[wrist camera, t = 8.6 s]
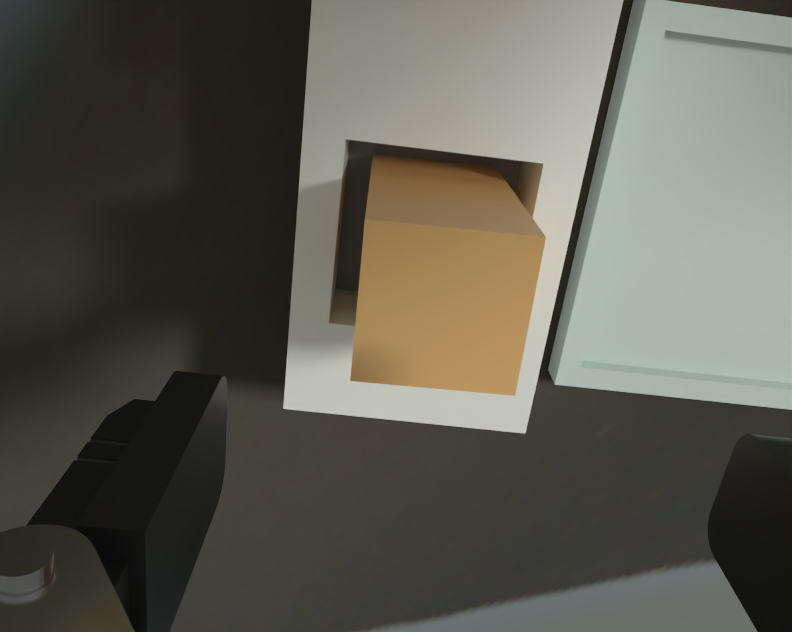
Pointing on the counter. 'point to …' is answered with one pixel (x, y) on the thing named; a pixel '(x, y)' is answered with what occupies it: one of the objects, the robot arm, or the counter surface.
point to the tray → (689, 215)
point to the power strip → (441, 141)
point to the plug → (444, 278)
